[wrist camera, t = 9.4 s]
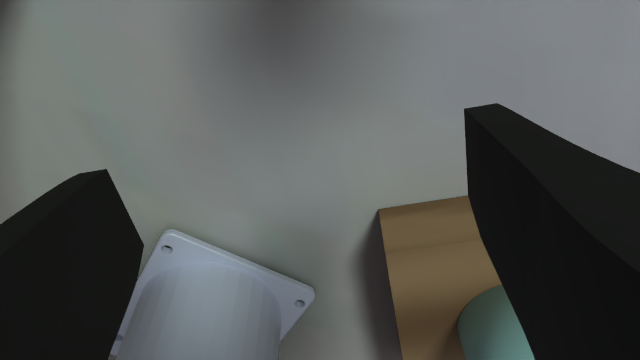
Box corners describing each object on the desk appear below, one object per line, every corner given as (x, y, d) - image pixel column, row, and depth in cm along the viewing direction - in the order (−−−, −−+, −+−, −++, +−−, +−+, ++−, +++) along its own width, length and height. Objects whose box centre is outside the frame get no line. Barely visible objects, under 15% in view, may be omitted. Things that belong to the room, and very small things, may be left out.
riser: (589, 329, 28) (615, 377, 26) (402, 352, 29) (409, 401, 27) (608, 174, 23) (644, 216, 20) (378, 209, 24) (385, 253, 21)
